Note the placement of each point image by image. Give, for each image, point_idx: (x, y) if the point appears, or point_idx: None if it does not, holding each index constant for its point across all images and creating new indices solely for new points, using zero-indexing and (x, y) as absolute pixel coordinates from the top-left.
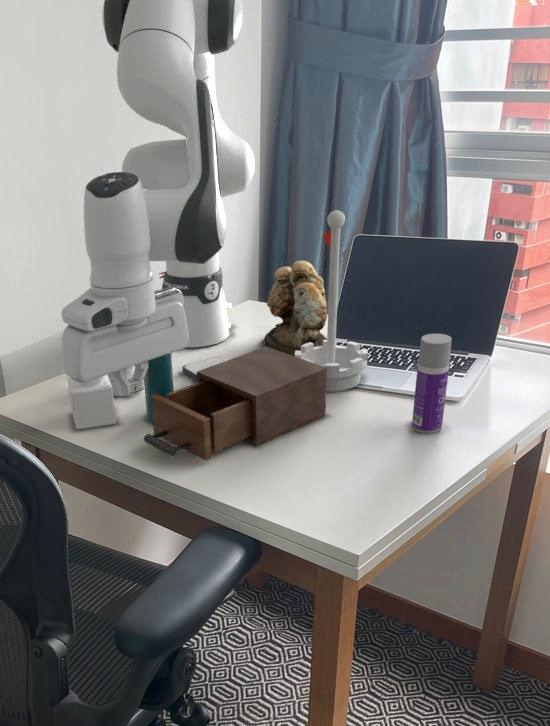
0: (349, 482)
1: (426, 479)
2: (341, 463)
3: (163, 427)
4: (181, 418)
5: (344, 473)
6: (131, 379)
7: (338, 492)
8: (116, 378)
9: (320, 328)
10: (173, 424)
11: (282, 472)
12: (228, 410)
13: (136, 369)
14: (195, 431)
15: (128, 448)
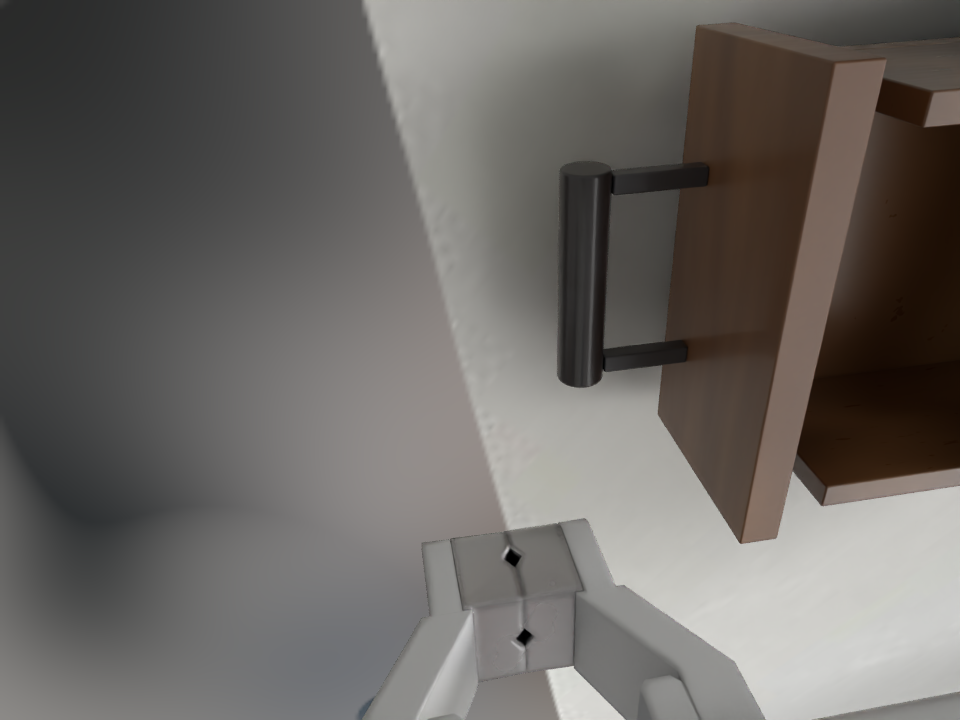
0: (833, 655)
1: None
2: (915, 584)
3: (715, 150)
4: (744, 363)
5: (868, 622)
6: (547, 612)
7: (773, 675)
8: (396, 662)
9: None
10: (725, 265)
11: (777, 549)
12: (910, 490)
13: (644, 666)
14: (712, 438)
15: (514, 18)
